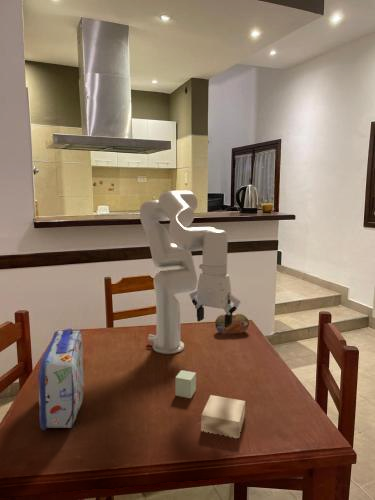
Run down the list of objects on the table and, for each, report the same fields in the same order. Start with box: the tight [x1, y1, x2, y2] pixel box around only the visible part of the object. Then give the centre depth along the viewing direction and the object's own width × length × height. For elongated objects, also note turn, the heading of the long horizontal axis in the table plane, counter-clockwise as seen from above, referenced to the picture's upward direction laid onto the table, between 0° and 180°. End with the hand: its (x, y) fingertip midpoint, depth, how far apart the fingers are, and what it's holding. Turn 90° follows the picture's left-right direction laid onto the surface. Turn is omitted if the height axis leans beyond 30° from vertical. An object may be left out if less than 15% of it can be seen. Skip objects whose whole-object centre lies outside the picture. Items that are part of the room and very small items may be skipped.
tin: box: [214, 313, 250, 335], centre depth 166 cm, size 15×3×8 cm, turn 97°
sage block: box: [174, 369, 197, 399], centre depth 116 cm, size 5×5×6 cm
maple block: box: [200, 394, 246, 439], centre depth 101 cm, size 10×10×5 cm
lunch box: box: [37, 328, 85, 431], centre depth 107 cm, size 28×10×22 cm, turn 12°
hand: (213, 323), depth 118 cm, fingers open, 9 cm apart
